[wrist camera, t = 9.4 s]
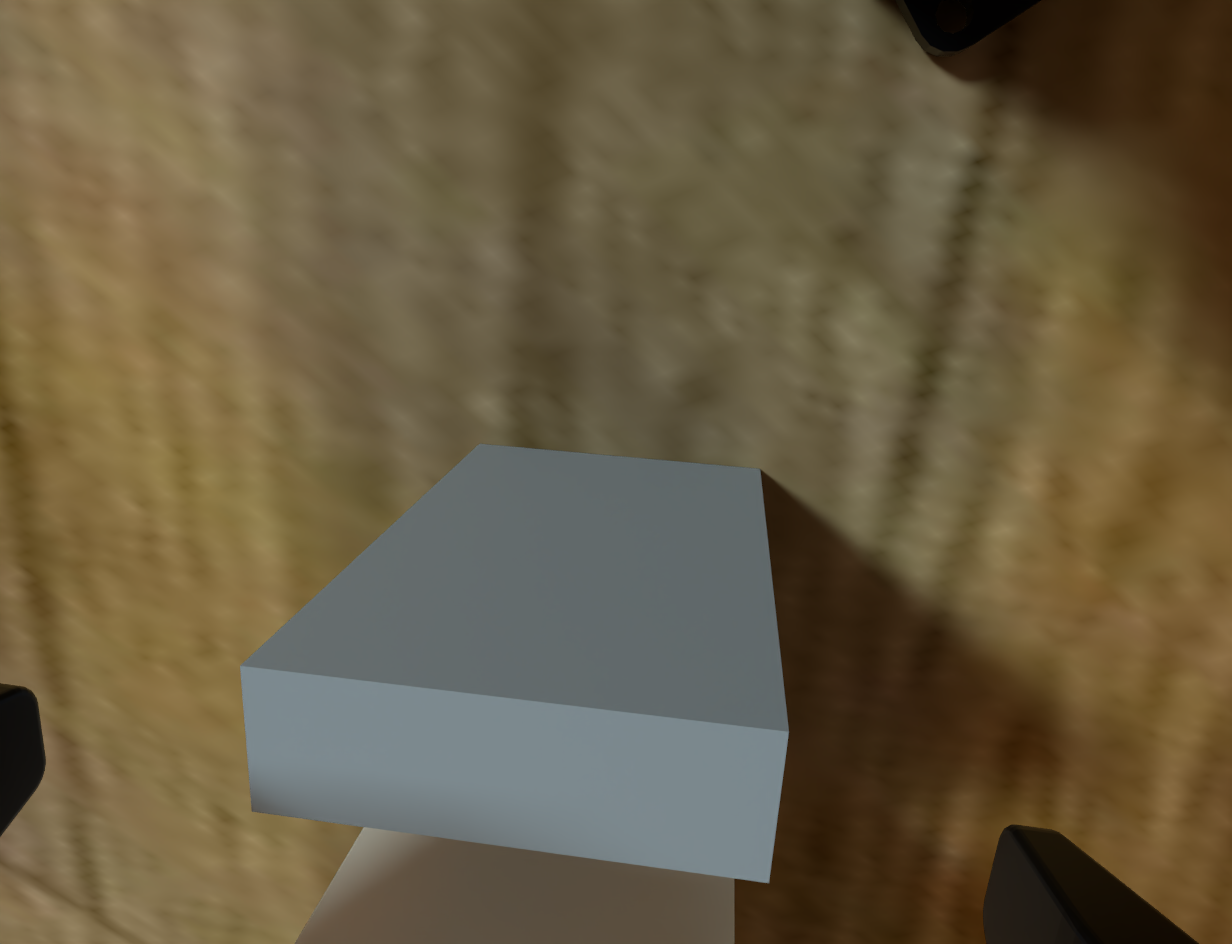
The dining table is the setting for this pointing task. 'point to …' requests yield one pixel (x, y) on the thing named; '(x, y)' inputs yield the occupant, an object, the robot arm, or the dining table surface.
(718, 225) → the dining table surface
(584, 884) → the domino
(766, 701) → the domino
